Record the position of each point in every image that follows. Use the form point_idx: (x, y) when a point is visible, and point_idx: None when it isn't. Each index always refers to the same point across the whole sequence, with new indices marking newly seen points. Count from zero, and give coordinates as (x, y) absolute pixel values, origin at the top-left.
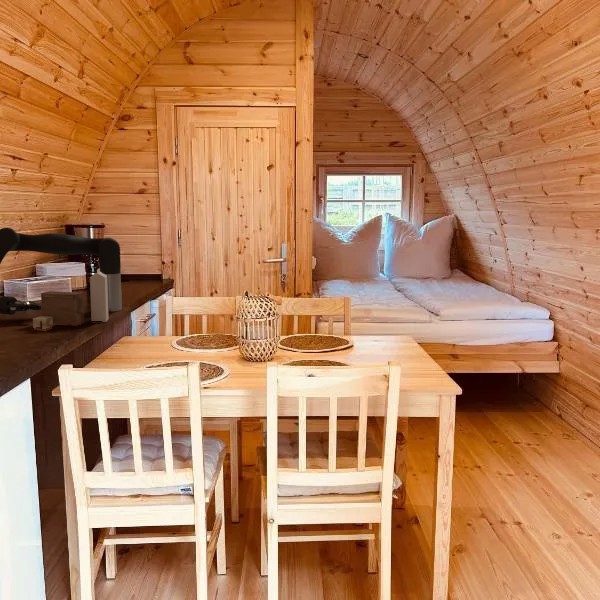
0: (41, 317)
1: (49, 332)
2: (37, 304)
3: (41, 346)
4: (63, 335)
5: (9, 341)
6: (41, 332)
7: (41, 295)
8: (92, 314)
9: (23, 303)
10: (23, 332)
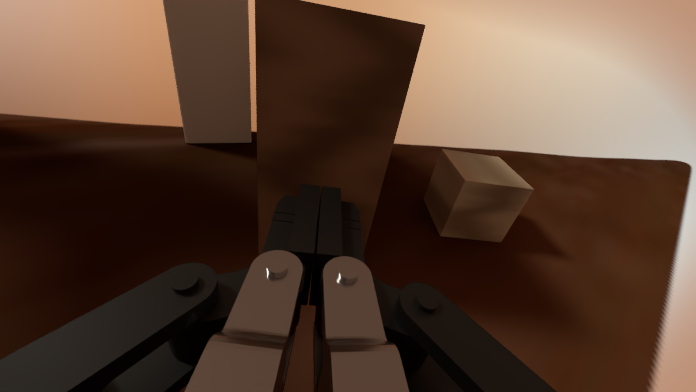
0: (485, 171)
1: None
2: (313, 200)
3: (578, 168)
4: None
5: (660, 239)
6: None
7: (415, 53)
8: (250, 110)
9: (396, 356)
10: (555, 264)
